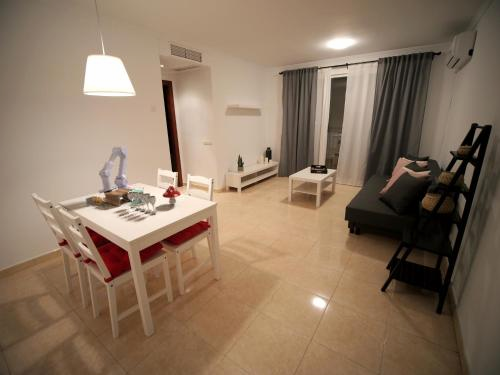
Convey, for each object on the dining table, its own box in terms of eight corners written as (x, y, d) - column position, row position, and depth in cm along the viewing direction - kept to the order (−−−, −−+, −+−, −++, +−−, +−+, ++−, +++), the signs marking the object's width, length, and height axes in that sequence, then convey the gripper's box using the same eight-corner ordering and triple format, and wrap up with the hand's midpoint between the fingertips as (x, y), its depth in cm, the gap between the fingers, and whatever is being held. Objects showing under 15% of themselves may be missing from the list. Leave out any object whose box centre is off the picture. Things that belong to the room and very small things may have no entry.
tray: (94, 201, 193) (93, 195, 192) (109, 203, 187) (108, 197, 185) (86, 203, 188) (85, 197, 186) (101, 206, 181) (100, 199, 180)
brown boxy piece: (124, 198, 199) (122, 188, 196) (136, 200, 194) (134, 189, 191) (106, 204, 184) (104, 193, 181) (118, 206, 178) (116, 195, 176)
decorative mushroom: (184, 203, 182) (182, 186, 178) (167, 208, 174) (165, 189, 170) (177, 199, 193) (175, 182, 189) (161, 203, 185) (159, 185, 181)
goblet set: (159, 211, 168) (157, 194, 164) (153, 214, 163) (150, 196, 159) (134, 205, 180) (131, 189, 177) (127, 208, 175) (124, 191, 172)
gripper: (111, 181, 198) (114, 196, 201) (95, 185, 185) (98, 201, 188) (117, 182, 195) (119, 197, 199) (100, 186, 182) (104, 202, 186)
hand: (109, 199), depth 193 cm, fingers closed
